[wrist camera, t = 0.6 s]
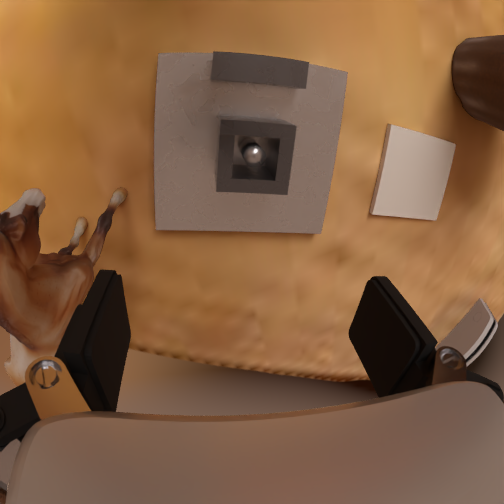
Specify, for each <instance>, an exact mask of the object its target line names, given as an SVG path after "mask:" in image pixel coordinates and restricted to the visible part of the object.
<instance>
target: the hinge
mask: <svg viewBox="0 0 504 504" xmlns="http://www.w3.org/2000/svg"><path fill="white" fill-rule="evenodd" d="M497 327H498V323H497V321H496V319H495V318H494V316H493V314H492V313H491V311H490V309H489V308H488V306H487V304H486V303H484V301H483V300H482V299H481V298H479V300H478V301H477V302H476V303H475V305H474V306H473V307H472V308H471V309H470V311H469V312H468V313H467V314H466V315H465V316H464V318H463V319H462V320H461V321H460V322H459V323H458V324H457V325H456V327H455V328H454V329H453V330H452V331H451V332H450V333H449V334H448V335H447V336H446V337H445V338H444V339H443V340H442V342H441V343H440V344H439V345H438V346H437V347H436V348H435V349H436V350H437V349H438V348H440V347H442V346H449V347H453V348H454V349H456V350H458V351H459V352H460V353H461V354H462V355H463V356H464V358H465V360H466V364H467V366H468V365H469V364H470V363H471V362H472V361H474V360H475V359H476V358H477V357H478V356H479V354H480V353H481V352H482V351H483V350H484V349H485V347H486V346H487V344H488V343H489V341H490V340H491V338H492V337H493V335H494V333H495V331H496V329H497Z"/></svg>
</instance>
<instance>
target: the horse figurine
mask: <svg viewBox="0 0 504 504" xmlns="http://www.w3.org/2000/svg"><path fill="white" fill-rule="evenodd" d="M126 197H127V190H126V189H125V188H117V189H116V190H115V191H114V193H113V196H112V198H111V200H110V204H109V206H108V208H107V209H106V211H105V212H104V213H103V214H102V215H101V216H100V217H99V219H98V224H97V227H96V229H95V231H94V233H93V235H92V237H91V239H90V240H89V242H88V244H87V246H86V248H85V250H84V251H83V253H82V254H81V255H78V256H76V255H72V251H73V250H74V249H75V248H76V247H77V246H78V245H79V238H80V236H81V235H82V234H83V233H84V230H85V229H86V228H87V226H88V222H87V220H86V219H85V218H84V217H79V218H78V219H77V223H76V227H75V233H74V236H73V237H72V239H71V240H70V244H69V246H68V247H65V248H62V249H61V250H60V251H59V252H58V254H57V253H50V254H41V253H39V252H40V248H41V242H40V238H39V234H38V230H39V217H40V215H41V213H42V211H43V209H44V208H45V202H44V201H45V196H44V194H43V193H42V192H41V190H40V189H37V188H32V189H29V190H26V191H25V192H24V193H23V195H22V197H21V198H20V199H19V200H18V201H17V202H16V203H14V204H13V205H12V206H10V207H9V208H8V209H7V210H5V211H4V212H2V213H0V326H2V327H3V328H4V329H6V331H7V332H9V333H10V343H11V355H10V357H9V358H8V359H7V360H6V361H5V369H6V372H7V373H8V375H9V377H10V378H11V380H12V381H13V382H14V384H15V385H16V386H17V387H18V386H19V385H21V384H23V383H25V372H26V369H27V367H28V366H29V365H30V364H31V363H32V361H34V360H36V359H37V358H40V357H43V356H53V357H54V356H55V354H56V351H57V349H58V346H59V344H60V342H61V339H62V337H63V335H64V333H65V330H66V328H67V326H68V324H69V322H70V319H71V317H72V315H73V313H74V311H75V309H76V307H77V306H78V305H79V304H81V303H82V302H83V300H84V298H85V297H86V295H87V293H88V291H89V289H90V287H91V285H92V282H93V278H94V273H93V267H94V265H95V263H96V261H97V260H98V258H99V256H100V254H101V251H102V248H103V244H104V241H105V237H106V234H107V232H108V230H109V229H110V227H111V223H112V216H113V214H114V212H115V210H116V208H117V206H118V205H119V204H120V203H122V202H123V201H124V200H125V199H126Z"/></svg>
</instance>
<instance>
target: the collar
mask: <svg viewBox="0 0 504 504" xmlns="http://www.w3.org/2000/svg"><path fill="white" fill-rule="evenodd" d="M296 128H297V126H296V125H294V124H292V123H289V122H287V121H285V120H281V119H271V118H261V117H248V116H233V115H219V123H218V137H217V152H216V168H215V182H216V192H233V193H257V194H276V195H288V188H289V180H290V173H291V166H292V159H293V151H294V143H295V136H296ZM235 135H243V136H257V137H268V144H267V153H266V162H265V166H259V167H250V166H248V165H237V164H233V155H234V143H235Z"/></svg>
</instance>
